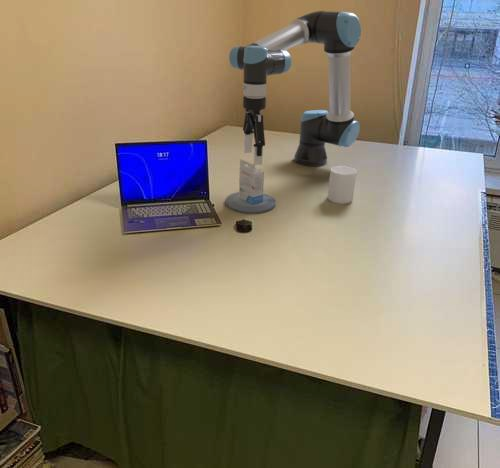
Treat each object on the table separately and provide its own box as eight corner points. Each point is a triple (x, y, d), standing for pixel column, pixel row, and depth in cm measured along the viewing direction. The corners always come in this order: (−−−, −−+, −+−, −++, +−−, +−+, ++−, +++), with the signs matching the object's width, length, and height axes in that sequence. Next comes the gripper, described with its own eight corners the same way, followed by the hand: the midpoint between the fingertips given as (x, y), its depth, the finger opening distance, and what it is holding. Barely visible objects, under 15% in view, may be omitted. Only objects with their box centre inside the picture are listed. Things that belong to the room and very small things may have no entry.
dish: (267, 192, 186) (267, 189, 185) (281, 211, 170) (281, 207, 170) (221, 195, 182) (221, 192, 181) (231, 215, 166) (232, 211, 165)
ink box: (263, 202, 174) (265, 162, 167) (252, 205, 171) (254, 165, 165) (248, 194, 180) (250, 156, 173) (238, 197, 177) (239, 158, 170)
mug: (337, 206, 177) (340, 175, 171) (318, 194, 186) (321, 165, 181) (357, 202, 180) (362, 172, 175) (338, 191, 190) (342, 163, 185)
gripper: (235, 89, 169) (234, 148, 179) (253, 104, 147) (251, 170, 157) (255, 88, 171) (254, 147, 180) (276, 103, 149) (273, 169, 159)
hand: (252, 158), depth 169 cm, fingers open, 13 cm apart
